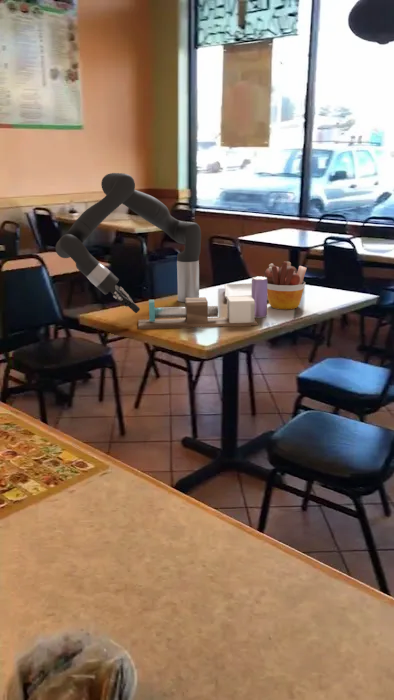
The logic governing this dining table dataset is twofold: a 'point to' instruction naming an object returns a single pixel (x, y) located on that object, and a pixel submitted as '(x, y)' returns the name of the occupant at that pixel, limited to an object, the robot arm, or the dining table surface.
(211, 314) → the slip tube
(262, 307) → the beverage can
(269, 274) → the bucket of meat
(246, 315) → the socket
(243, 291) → the square plate
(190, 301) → the rail board
